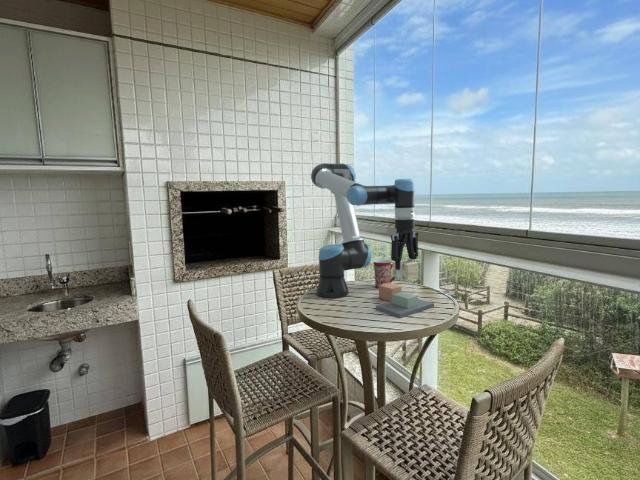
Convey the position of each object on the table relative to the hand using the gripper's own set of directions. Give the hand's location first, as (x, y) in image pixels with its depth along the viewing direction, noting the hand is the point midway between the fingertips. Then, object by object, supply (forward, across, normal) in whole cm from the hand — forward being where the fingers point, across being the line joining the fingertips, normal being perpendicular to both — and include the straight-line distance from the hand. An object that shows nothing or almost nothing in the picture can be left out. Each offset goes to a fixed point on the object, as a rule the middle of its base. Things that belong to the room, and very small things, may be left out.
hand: (405, 276), depth 134 cm
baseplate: (+13, 0, 0) cm, 13 cm away
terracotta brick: (+13, +5, +13) cm, 20 cm away
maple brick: (0, 0, 0) cm, 0 cm away
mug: (+13, +18, +28) cm, 36 cm away
